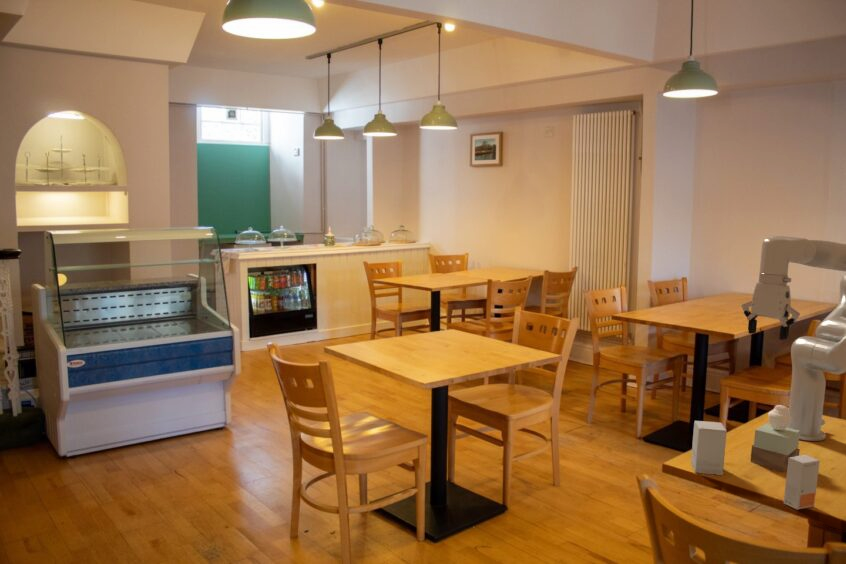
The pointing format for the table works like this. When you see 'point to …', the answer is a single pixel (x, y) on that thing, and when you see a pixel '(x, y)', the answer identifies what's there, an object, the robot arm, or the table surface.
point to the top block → (776, 439)
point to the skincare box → (801, 482)
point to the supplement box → (708, 447)
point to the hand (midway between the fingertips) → (767, 336)
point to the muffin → (779, 417)
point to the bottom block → (771, 458)
